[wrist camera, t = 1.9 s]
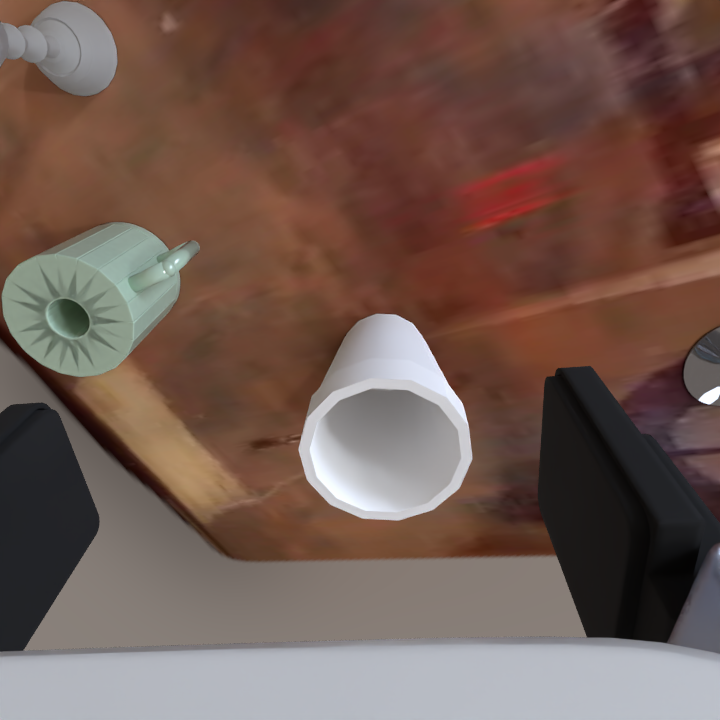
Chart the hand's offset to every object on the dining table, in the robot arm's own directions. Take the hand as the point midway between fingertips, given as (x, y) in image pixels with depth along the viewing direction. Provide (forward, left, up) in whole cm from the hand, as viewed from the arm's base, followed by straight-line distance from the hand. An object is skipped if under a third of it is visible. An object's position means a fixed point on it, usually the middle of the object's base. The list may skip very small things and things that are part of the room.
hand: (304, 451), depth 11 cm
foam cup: (+11, +3, -29) cm, 32 cm away
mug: (+7, -15, -29) cm, 33 cm away
